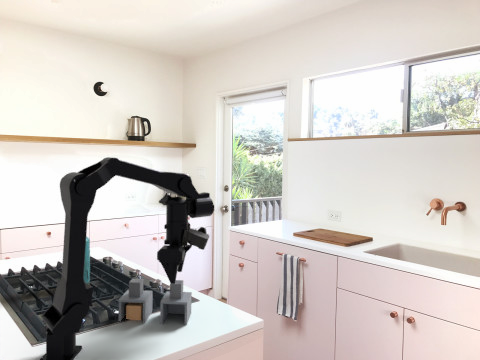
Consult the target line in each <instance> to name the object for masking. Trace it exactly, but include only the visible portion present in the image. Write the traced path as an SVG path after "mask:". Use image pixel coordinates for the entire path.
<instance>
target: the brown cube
mask: <svg viewBox="0 0 480 360" xmlns="http://www.w3.org/2000/svg"><path fill="white" fill-rule="evenodd" d="M125 317H126V318H125V320H126V319H130V320H129V321H143V303H133V302H129V303H128V304H127V305H126V316H125Z"/></svg>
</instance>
